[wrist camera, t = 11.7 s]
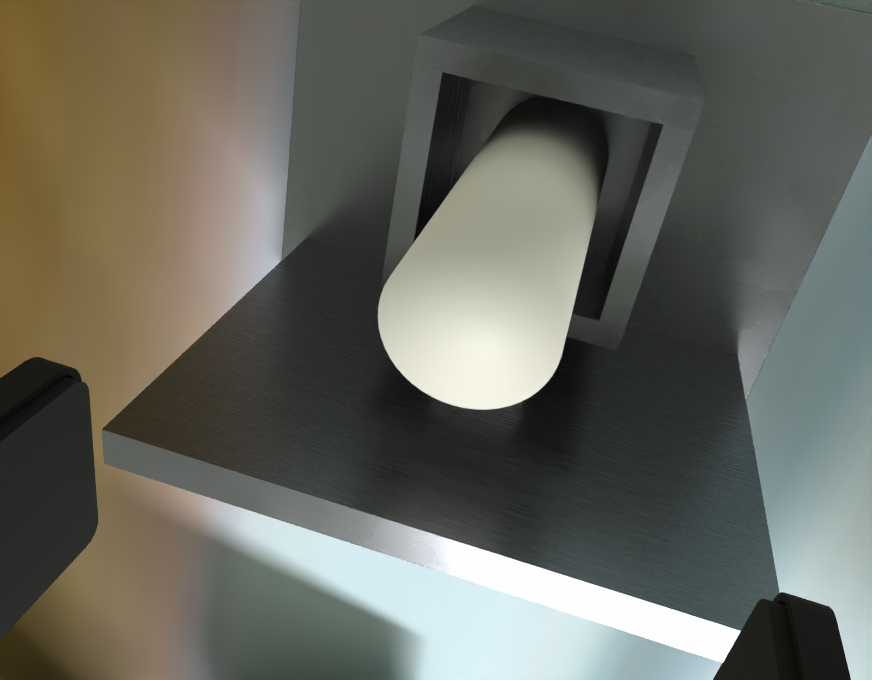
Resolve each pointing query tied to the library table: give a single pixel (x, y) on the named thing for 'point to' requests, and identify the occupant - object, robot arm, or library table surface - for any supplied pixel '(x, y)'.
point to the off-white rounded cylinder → (500, 262)
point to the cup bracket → (591, 317)
